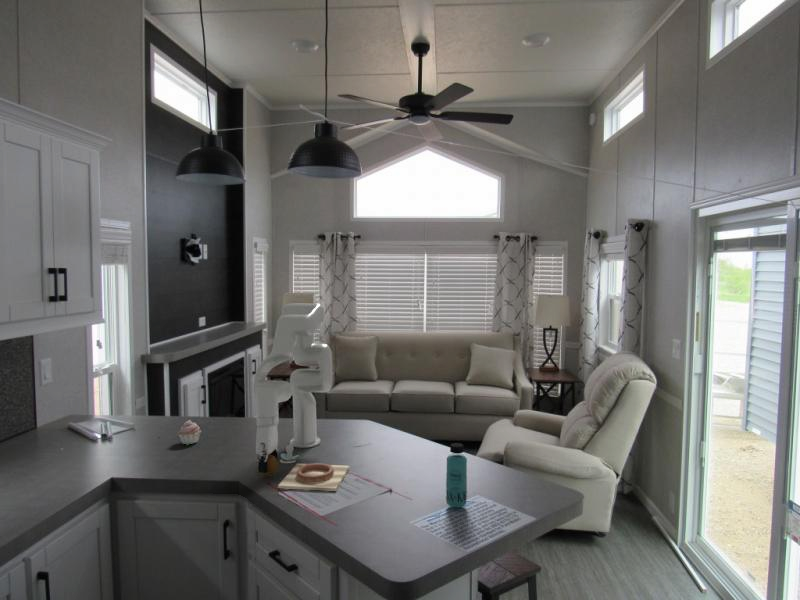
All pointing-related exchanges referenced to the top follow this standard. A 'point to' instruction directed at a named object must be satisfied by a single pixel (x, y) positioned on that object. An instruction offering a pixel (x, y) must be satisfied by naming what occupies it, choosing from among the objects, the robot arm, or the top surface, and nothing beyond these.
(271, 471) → the fruit
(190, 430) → the cupcake
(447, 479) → the beverage bottle
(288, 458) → the pacifier
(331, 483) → the ring board
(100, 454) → the top surface
